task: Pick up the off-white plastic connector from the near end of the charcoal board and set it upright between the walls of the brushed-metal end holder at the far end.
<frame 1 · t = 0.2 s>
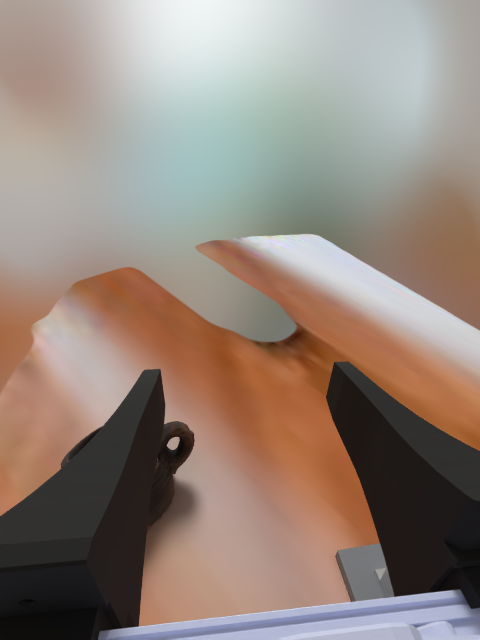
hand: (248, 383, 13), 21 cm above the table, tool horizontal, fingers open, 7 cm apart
end holder: (442, 622, 23), resting on route board
pottery mug: (139, 484, 32), on the table
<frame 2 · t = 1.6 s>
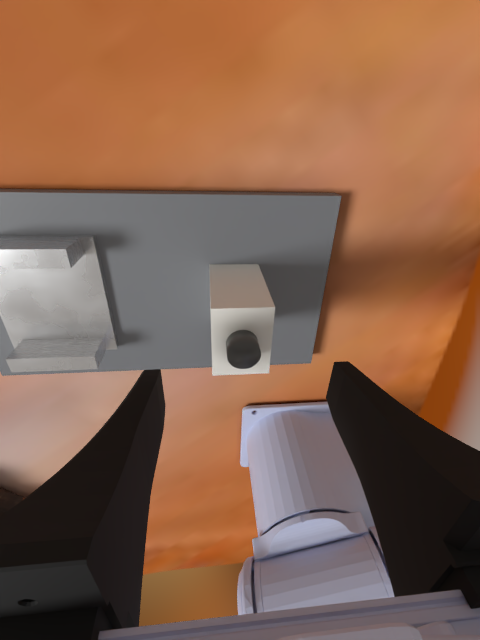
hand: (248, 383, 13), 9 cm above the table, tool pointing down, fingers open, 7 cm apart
route board: (156, 288, 21), on the table
end holder: (60, 289, 20), resting on route board
connector: (233, 293, 20), point 1 cm above the table, touching route board
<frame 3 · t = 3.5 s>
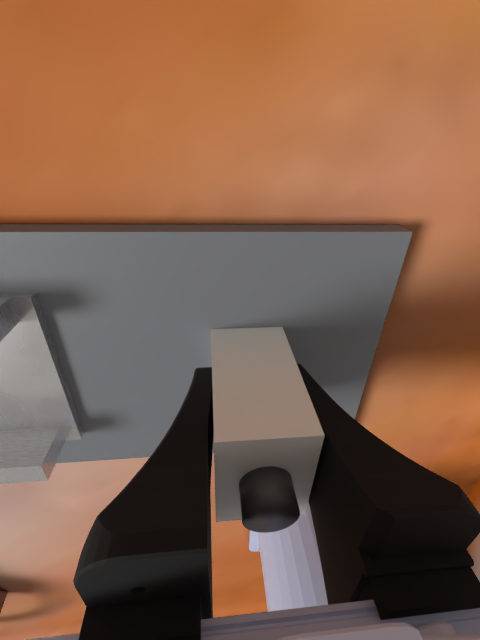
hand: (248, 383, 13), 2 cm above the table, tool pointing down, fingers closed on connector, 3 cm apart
route board: (135, 355, 15), on the table
connector: (245, 365, 14), point 1 cm above the table, touching gripper, route board
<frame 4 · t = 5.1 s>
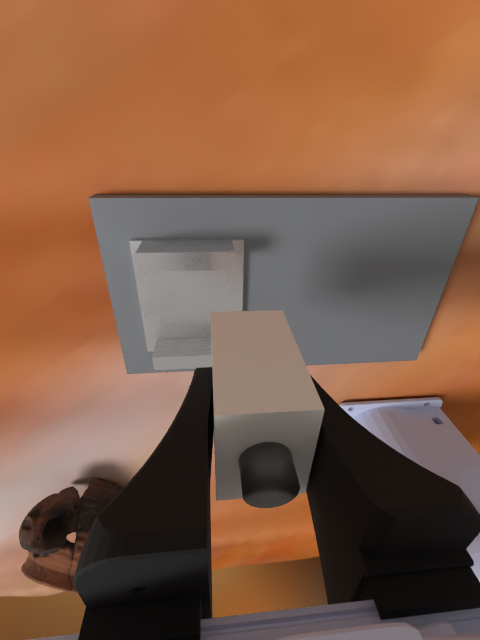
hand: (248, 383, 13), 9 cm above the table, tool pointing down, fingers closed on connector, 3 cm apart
route board: (281, 288, 21), on the table
end holder: (192, 290, 21), resting on route board
pottery mug: (88, 497, 32), on the table
connector: (245, 349, 14), point 8 cm above the table, touching gripper
when the fingers open (4 cm above the table, at t = 7.0 s): connector stays where it is, resting on end holder.
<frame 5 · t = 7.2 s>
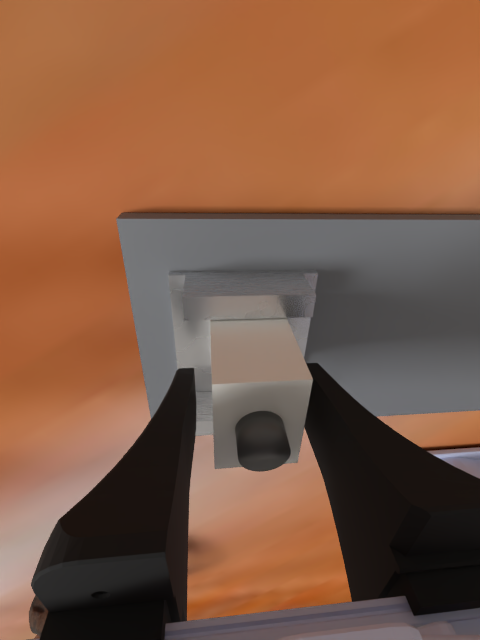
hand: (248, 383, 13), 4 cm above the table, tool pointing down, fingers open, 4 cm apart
route board: (349, 327, 17), on the table
end holder: (239, 331, 17), resting on route board
pottery mug: (106, 551, 28), on the table
connector: (242, 334, 15), point 1 cm above the table, touching end holder
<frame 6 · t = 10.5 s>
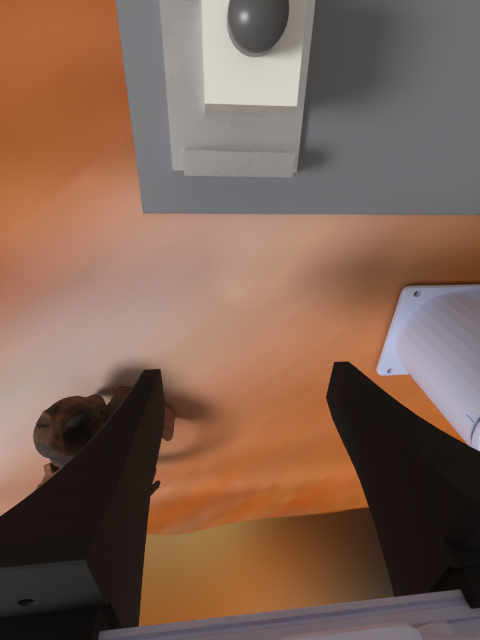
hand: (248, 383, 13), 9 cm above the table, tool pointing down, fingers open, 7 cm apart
route board: (352, 87, 16), on the table
end holder: (234, 82, 15), resting on route board
pottery mug: (113, 416, 27), on the table
connector: (237, 57, 14), point 1 cm above the table, touching end holder
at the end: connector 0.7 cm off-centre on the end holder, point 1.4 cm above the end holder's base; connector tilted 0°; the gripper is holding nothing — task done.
